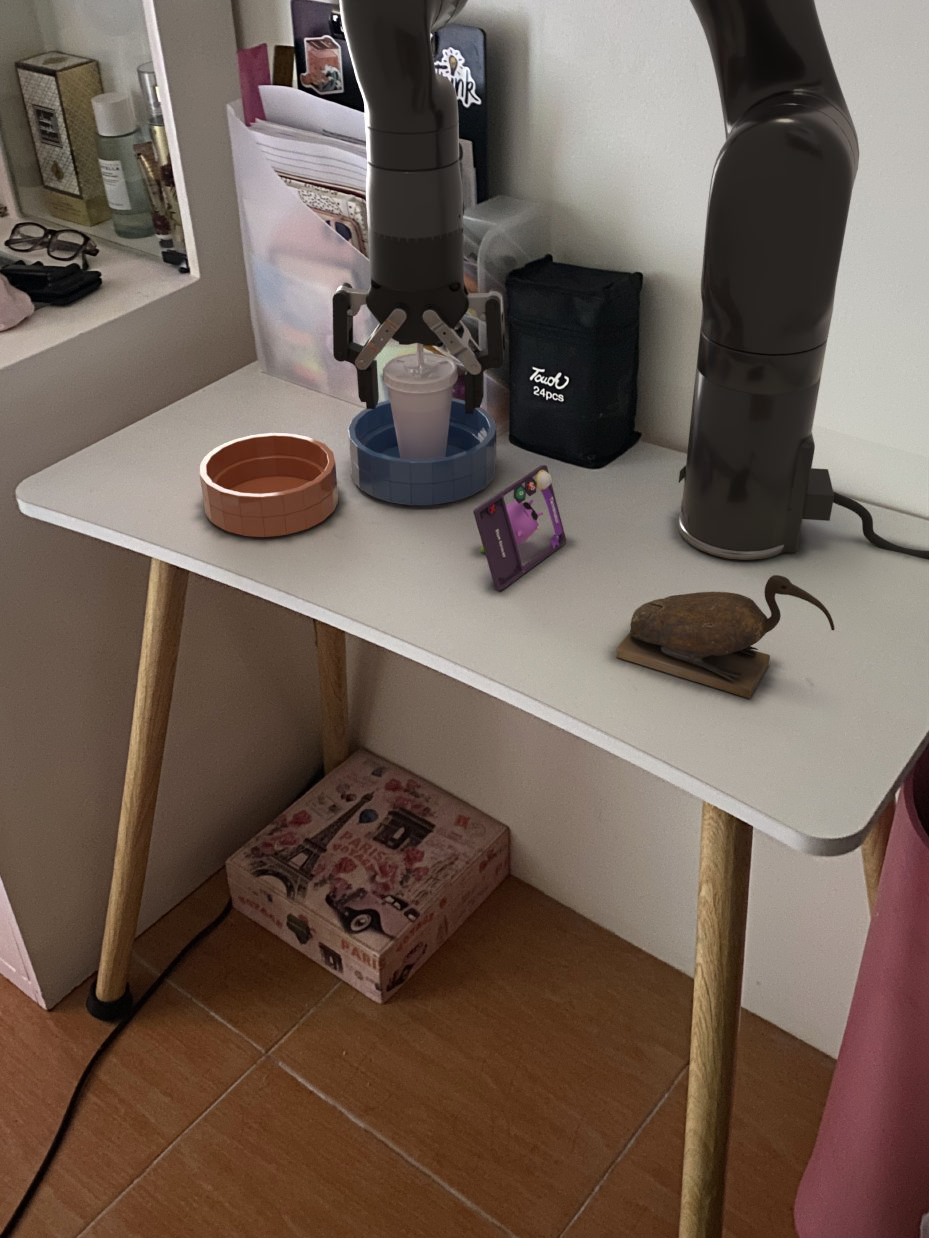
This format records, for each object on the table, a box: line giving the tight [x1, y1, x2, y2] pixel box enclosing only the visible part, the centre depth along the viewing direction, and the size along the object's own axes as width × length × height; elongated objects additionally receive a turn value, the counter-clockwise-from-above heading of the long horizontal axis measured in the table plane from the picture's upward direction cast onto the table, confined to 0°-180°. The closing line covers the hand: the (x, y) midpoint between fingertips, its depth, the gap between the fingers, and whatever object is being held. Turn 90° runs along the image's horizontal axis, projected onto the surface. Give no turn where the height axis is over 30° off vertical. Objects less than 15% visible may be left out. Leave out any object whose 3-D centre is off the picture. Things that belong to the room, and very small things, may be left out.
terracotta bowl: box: [198, 432, 339, 538], centre depth 103 cm, size 11×11×4 cm
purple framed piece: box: [472, 464, 567, 591], centre depth 96 cm, size 7×5×9 cm
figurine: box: [615, 574, 836, 699], centre depth 83 cm, size 14×4×9 cm, turn 61°
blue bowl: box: [347, 397, 497, 506], centre depth 107 cm, size 13×13×4 cm
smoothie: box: [382, 343, 459, 459], centre depth 104 cm, size 6×6×14 cm
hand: (421, 407), depth 105 cm, fingers open, 8 cm apart
